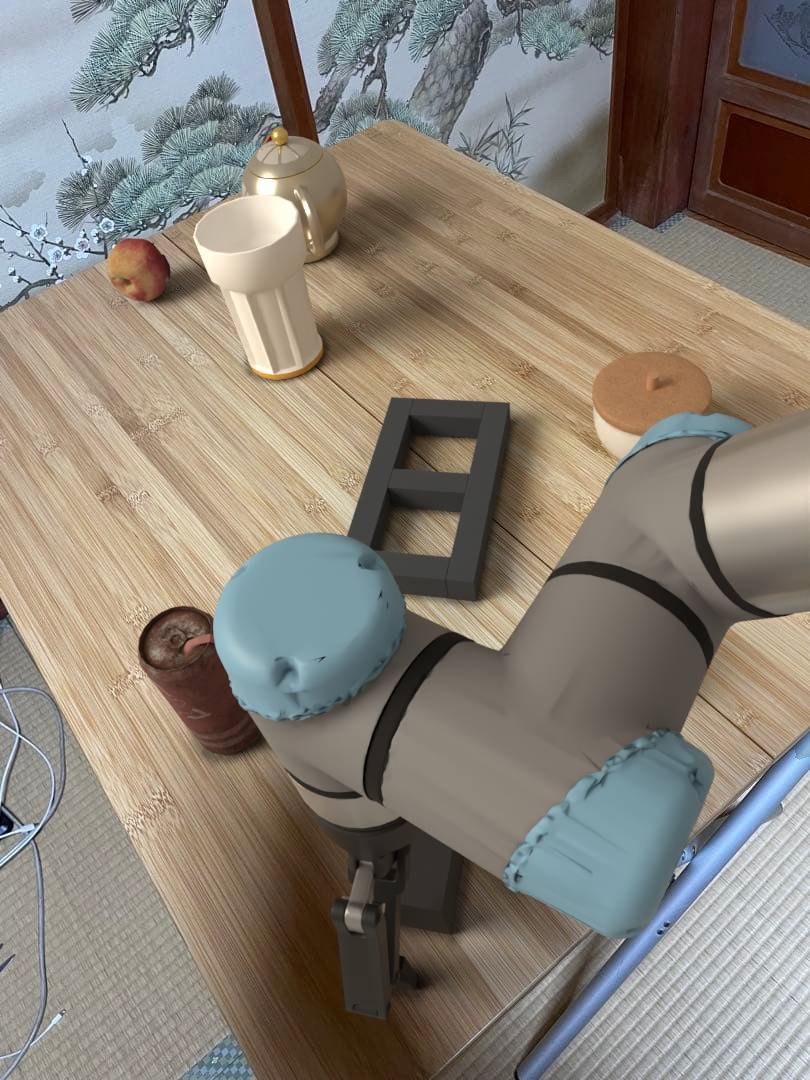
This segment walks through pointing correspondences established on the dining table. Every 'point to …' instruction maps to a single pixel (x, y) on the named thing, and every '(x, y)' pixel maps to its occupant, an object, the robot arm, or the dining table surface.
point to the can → (195, 679)
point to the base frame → (435, 491)
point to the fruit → (138, 269)
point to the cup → (263, 281)
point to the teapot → (301, 186)
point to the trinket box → (644, 396)
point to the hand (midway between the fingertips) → (416, 881)
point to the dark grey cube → (431, 886)
